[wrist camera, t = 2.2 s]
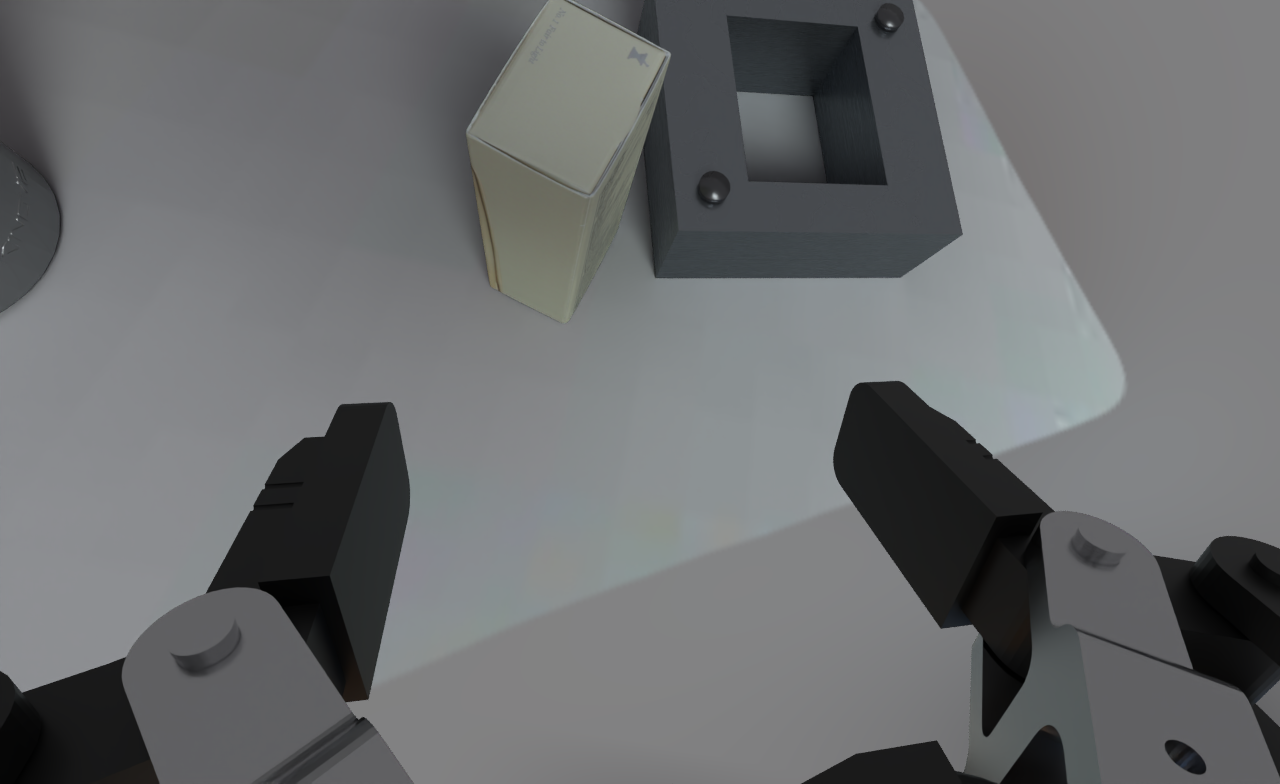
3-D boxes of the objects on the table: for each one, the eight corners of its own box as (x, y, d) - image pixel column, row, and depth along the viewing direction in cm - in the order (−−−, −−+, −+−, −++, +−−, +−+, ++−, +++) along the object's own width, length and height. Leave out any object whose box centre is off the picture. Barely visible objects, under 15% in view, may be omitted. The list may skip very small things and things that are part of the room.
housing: (655, 278, 30) (680, 226, 25) (634, 47, 33) (653, -42, 28) (900, 277, 33) (968, 230, 28) (860, 63, 36) (915, -15, 31)
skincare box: (545, 191, 31) (553, -20, 19) (622, 230, 31) (677, 47, 19) (486, 291, 29) (455, 128, 17) (568, 332, 29) (593, 199, 17)
